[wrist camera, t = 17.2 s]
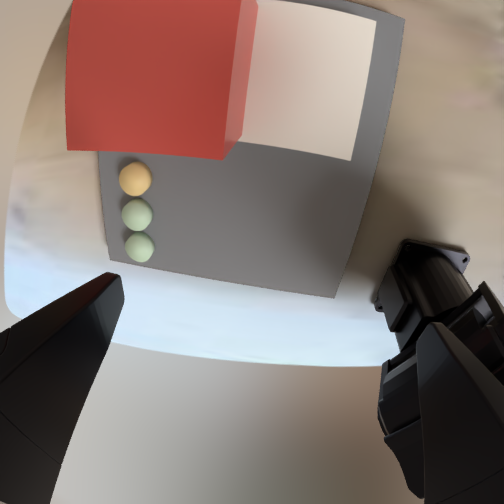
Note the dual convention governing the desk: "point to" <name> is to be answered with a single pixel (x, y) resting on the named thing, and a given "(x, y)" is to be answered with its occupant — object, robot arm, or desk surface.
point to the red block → (158, 75)
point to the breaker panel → (271, 160)
